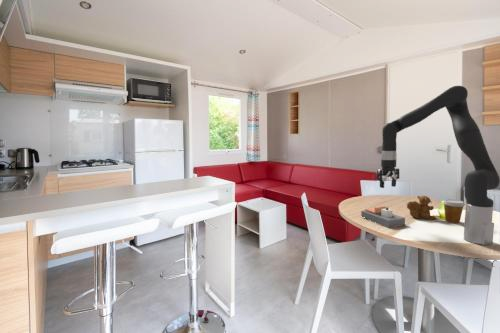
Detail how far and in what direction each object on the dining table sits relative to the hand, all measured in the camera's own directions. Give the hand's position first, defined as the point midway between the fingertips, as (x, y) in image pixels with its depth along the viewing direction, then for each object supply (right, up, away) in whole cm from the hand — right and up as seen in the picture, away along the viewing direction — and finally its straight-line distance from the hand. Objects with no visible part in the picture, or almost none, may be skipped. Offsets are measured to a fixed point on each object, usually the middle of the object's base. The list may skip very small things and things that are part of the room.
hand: (387, 187), depth 143 cm
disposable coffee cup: (+38, -20, +1) cm, 43 cm away
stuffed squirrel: (+25, -20, +10) cm, 33 cm away
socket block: (-1, -20, +5) cm, 21 cm away
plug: (0, -20, +2) cm, 20 cm away
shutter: (-3, -16, +10) cm, 18 cm away
